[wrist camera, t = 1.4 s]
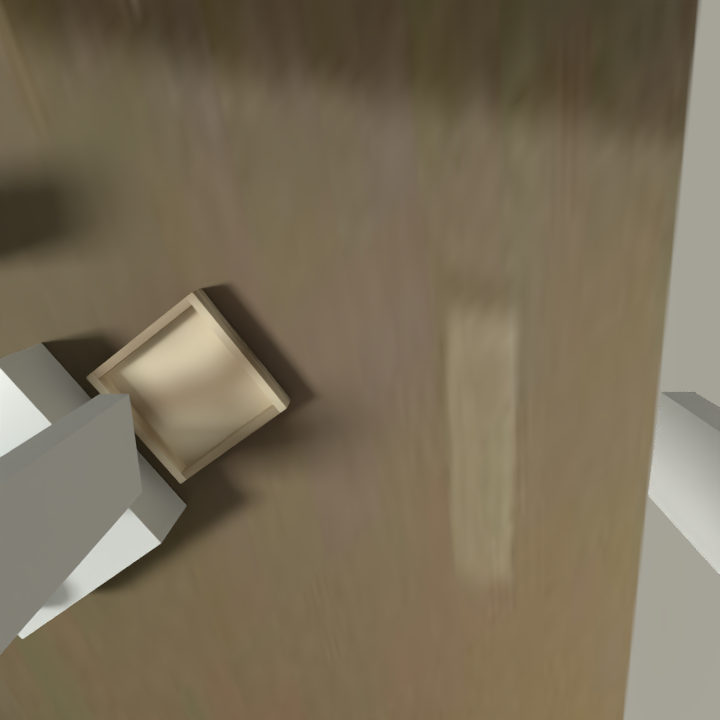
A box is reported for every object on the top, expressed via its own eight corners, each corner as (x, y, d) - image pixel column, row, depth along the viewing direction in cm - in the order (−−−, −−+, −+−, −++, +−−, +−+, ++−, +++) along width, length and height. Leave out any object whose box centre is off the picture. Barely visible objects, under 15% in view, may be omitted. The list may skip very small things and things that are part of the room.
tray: (98, 370, 40) (85, 377, 39) (201, 288, 38) (192, 291, 37) (189, 472, 42) (180, 484, 40) (291, 399, 40) (286, 408, 38)
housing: (-84, 447, 43) (-144, 477, 38) (41, 342, 40) (-7, 360, 35) (61, 593, 46) (22, 639, 41) (186, 505, 43) (161, 543, 38)
